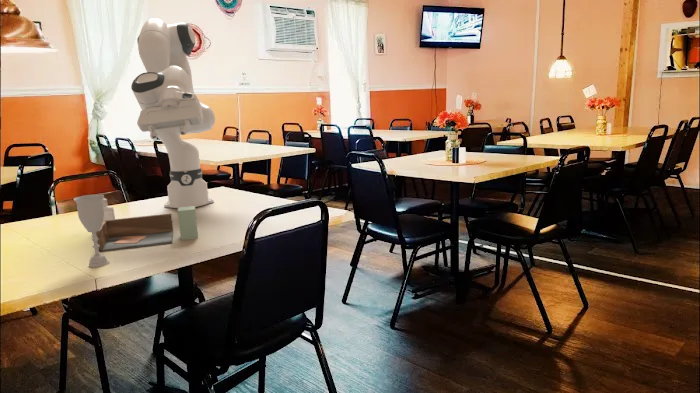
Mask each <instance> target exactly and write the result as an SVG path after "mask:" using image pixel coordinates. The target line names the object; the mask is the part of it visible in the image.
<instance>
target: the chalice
mask: <svg viewBox="0 0 700 393" xmlns="http://www.w3.org/2000/svg"><path fill="white" fill-rule="evenodd" d="M103 196H104V194H101V193H98V194H97V193H96V194H85V195H81V196H76V197H74V198H73V200H74V202H75V204H76V210H77V216H78V219H79V221H80V222H81V224H82V225H83V227H84V228H85V229H86V231H87V233H91V235H92V238H91V241H92V243H93V245H92V248H93V250H94V253H93V255H91V256H90V258H89V262H88V265H89V266H92V267H91V268H99V267H98V266H100V267H104V266H106V265H108V264H110V261H109V260H108V258H107V257H106V255H104V253H101V252H99V246H100V245H98V243H97V242H98V238H97V235H96V232H97V231H99V230H100V228H101V225H102V222H103V218H104V208H103V201H102V199H103ZM104 197H105V196H104ZM89 266H88V267H89Z"/></svg>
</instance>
